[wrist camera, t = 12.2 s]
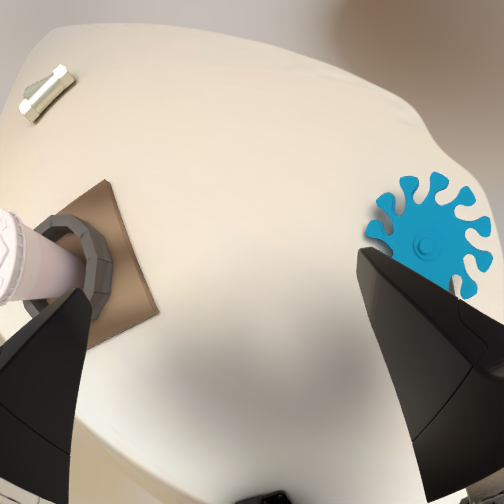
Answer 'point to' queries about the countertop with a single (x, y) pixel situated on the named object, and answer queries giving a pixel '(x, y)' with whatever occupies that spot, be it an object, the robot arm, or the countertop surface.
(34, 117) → the pipe fitting
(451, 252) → the gear
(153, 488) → the countertop surface
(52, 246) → the smoothie
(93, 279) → the collar stand
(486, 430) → the robot arm
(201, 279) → the countertop surface
